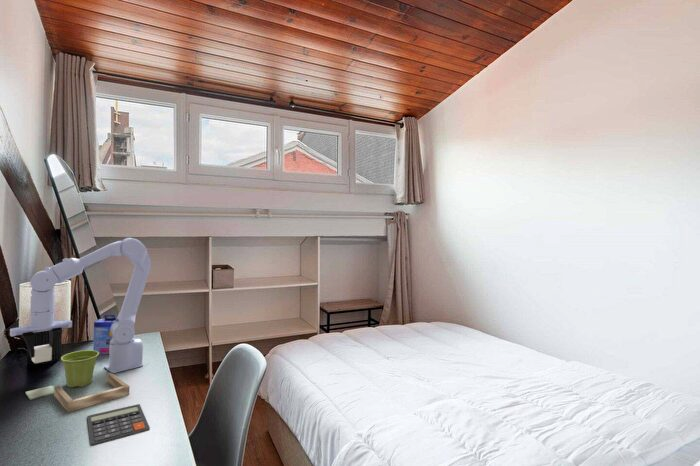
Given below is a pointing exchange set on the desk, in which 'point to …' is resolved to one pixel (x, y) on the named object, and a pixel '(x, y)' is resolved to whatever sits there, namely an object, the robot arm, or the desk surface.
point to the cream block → (42, 353)
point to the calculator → (116, 424)
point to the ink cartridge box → (103, 334)
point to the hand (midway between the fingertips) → (41, 354)
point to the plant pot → (79, 367)
